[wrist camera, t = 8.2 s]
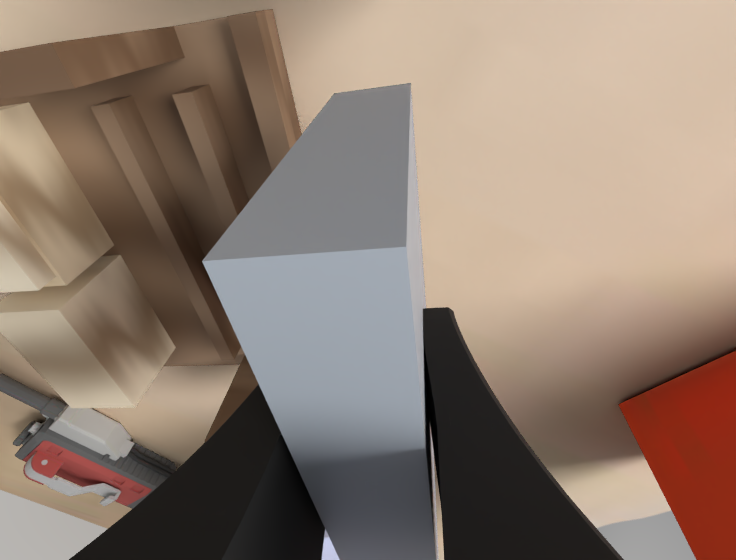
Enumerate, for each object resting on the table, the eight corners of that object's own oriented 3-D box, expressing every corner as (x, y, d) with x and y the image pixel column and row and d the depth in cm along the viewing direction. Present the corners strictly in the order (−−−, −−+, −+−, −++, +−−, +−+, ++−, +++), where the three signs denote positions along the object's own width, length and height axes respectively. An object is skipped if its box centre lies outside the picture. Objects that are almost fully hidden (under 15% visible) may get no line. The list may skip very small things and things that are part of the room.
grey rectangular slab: (429, 355, 16) (440, 605, 9) (380, 356, 16) (357, 599, 10) (410, 83, 10) (405, 246, 4) (334, 93, 10) (202, 261, 4)
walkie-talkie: (204, 460, 36) (-27, 337, 28) (181, 511, 32) (-89, 386, 25) (158, 486, 40) (-55, 384, 32) (134, 534, 36) (-112, 432, 29)
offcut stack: (175, 347, 25) (135, 407, 21) (119, 349, 25) (71, 408, 22) (28, 102, 16) (-81, 133, 13) (-49, 114, 17) (-174, 146, 13)
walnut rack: (351, 349, 25) (333, 453, 19) (128, 356, 27) (54, 450, 22) (272, 9, 14) (183, 19, 9) (-76, 70, 17) (-318, 108, 11)
